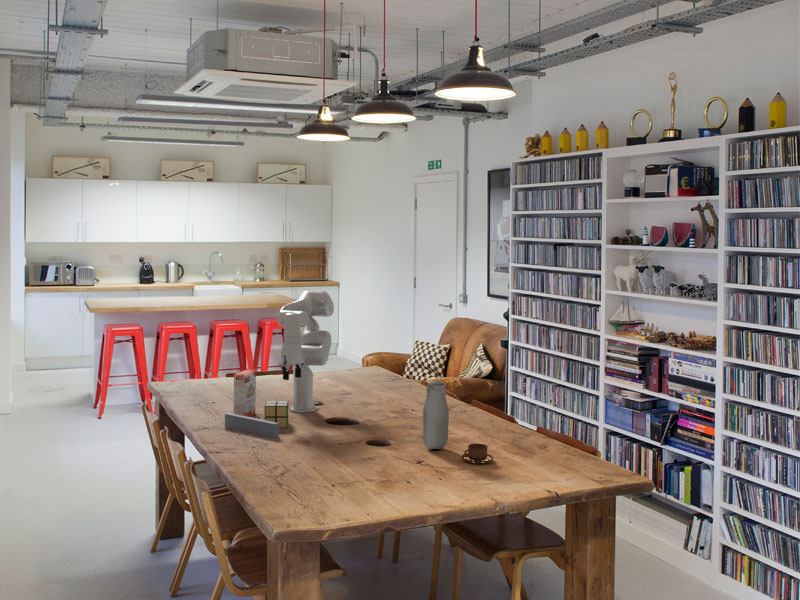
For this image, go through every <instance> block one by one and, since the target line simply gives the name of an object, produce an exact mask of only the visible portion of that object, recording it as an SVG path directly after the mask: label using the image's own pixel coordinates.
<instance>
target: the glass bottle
mask: <svg viewBox="0 0 800 600" xmlns="http://www.w3.org/2000/svg"><path fill="white" fill-rule="evenodd" d="M449 413H450V411H449V406H448V402H447V397H446V386H445V383H444V382H442V381H440V380H433V381H432V380H431V381H430V382H429V383H428V384H427V386H426V398H425V400H424V404H423V409H422V439H423V440H422V441H423V443H424V446H425V447H426V448H427V449H429V450H432V449H439V450H442V449H444V448H445V447H446V445H447V443H448V440H449V420H450V418H449V417H450V414H449Z"/></svg>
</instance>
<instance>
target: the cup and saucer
mask: <svg viewBox="0 0 800 600" xmlns="http://www.w3.org/2000/svg"><path fill="white" fill-rule="evenodd" d="M467 447H468V449H465V451H464V452H463V454H462V455H461V459H462V460H464V461H465V462H467V461H468V462H467V463H470V462H475V463H481V462H488V463H490V462H492V461H493V459H494V456H492V455H491V454H489V453H488V445H486V444H484V443H469V444H468V445H467ZM487 456H489V457H491V458H492V459H491V460H492V461H491V460H488V461H482V460H485V459H486V458H487ZM464 457H469V459H471V460H467V459H464ZM472 460H474V461H472ZM489 461H490V462H489ZM475 463H474V464H475Z"/></svg>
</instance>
